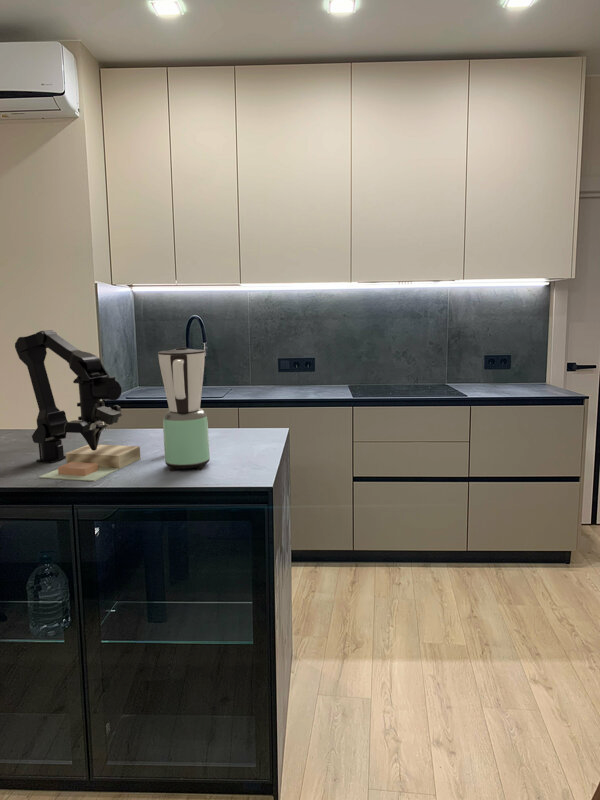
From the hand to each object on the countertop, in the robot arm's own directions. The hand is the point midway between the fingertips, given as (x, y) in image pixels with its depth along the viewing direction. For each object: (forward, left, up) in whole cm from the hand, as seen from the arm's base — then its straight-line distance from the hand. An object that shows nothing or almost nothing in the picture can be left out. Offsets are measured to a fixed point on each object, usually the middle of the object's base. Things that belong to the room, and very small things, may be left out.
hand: (94, 450), depth 180 cm
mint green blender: (+28, +5, -5) cm, 29 cm away
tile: (-1, -8, -3) cm, 8 cm away
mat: (0, -8, -5) cm, 9 cm away
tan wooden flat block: (0, +5, -5) cm, 7 cm away
